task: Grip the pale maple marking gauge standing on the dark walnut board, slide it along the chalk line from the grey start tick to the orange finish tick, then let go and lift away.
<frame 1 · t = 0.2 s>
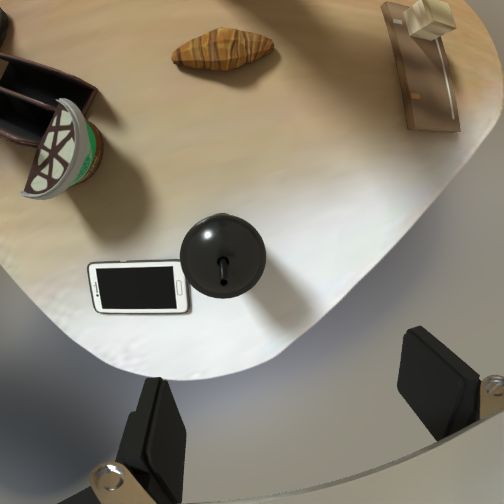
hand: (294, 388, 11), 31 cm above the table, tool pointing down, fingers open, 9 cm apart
cell phone: (138, 285, 42), on the table
croissant: (223, 55, 35), on the table
food container: (89, 159, 36), on the table
letter holder: (37, 101, 33), on the table
walnut board: (420, 66, 37), on the table
drinking cup: (222, 231, 41), on the table
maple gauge: (417, 26, 33), point 2 cm above the table, touching walnut board
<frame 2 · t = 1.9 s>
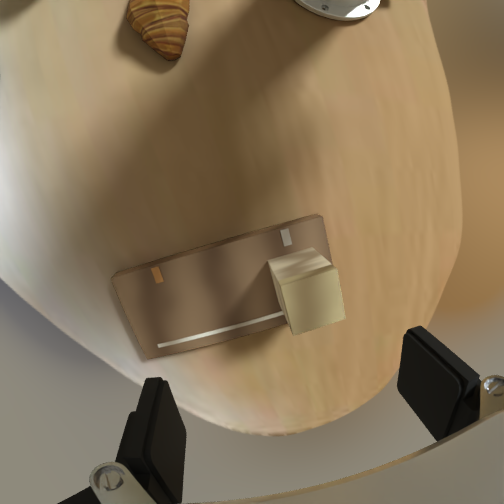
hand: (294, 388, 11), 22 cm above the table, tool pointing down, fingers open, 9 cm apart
croissant: (161, 16, 25), on the table
walnut board: (227, 287, 32), on the table
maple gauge: (295, 275, 31), point 2 cm above the table, touching walnut board
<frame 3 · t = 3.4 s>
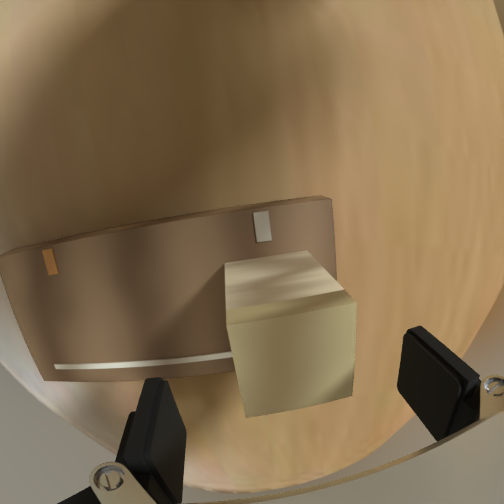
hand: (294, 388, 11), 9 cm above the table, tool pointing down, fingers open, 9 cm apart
walnut board: (158, 298, 19), on the table
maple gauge: (270, 294, 18), point 2 cm above the table, touching walnut board
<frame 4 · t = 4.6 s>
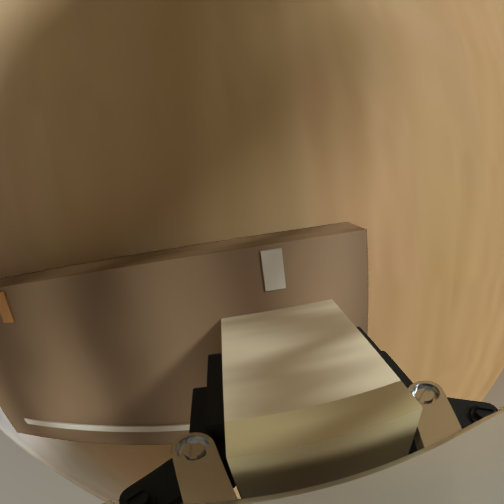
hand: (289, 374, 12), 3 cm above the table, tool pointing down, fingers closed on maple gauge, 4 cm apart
walnut board: (138, 352, 14), on the table
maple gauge: (283, 355, 13), point 2 cm above the table, touching gripper, walnut board
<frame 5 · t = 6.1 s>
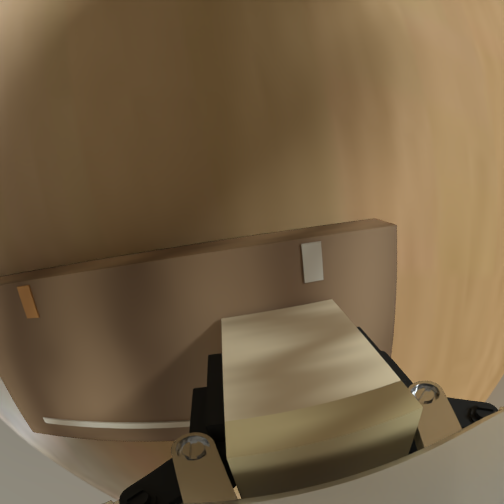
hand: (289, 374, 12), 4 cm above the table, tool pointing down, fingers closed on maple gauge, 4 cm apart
walnut board: (168, 347, 15), on the table
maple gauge: (283, 355, 13), point 2 cm above the table, touching gripper
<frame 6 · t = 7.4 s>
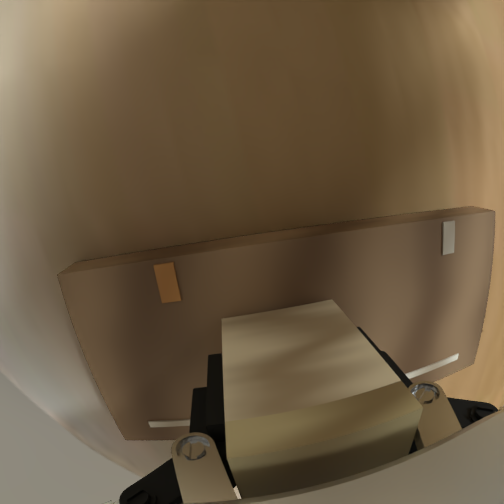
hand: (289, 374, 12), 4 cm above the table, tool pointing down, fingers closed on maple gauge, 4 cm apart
walnut board: (309, 324, 15), on the table
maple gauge: (283, 356, 13), point 2 cm above the table, touching gripper
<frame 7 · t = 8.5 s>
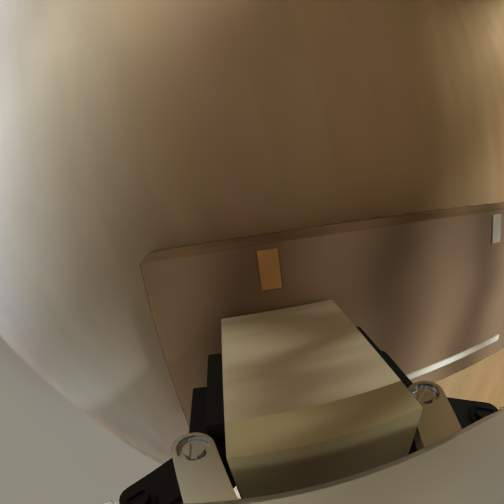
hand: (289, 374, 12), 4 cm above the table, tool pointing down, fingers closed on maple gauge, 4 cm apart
walnut board: (380, 310, 15), on the table
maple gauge: (283, 356, 13), point 2 cm above the table, touching gripper
when the fingers open (4 cm above the table, at t = 9.5 s): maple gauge stays where it is, resting on walnut board.
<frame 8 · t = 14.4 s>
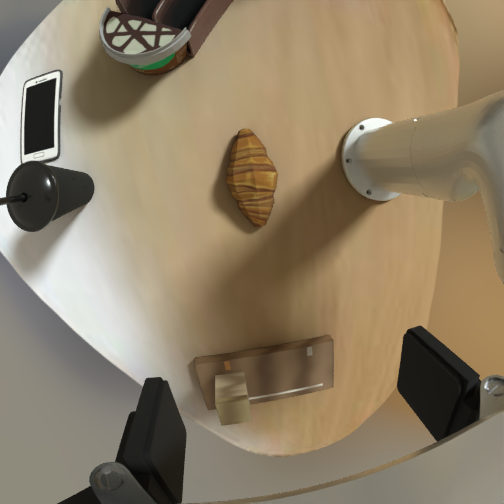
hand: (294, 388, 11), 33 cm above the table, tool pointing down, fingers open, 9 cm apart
cell phone: (42, 117, 36), on the table
croissant: (250, 177, 42), on the table
food container: (148, 63, 36), on the table
letter holder: (198, 0, 34), on the table
walnut board: (266, 372, 49), on the table
drinking cup: (80, 188, 39), on the table
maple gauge: (231, 384, 47), point 2 cm above the table, touching walnut board
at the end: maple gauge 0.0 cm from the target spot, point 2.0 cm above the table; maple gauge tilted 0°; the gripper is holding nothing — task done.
